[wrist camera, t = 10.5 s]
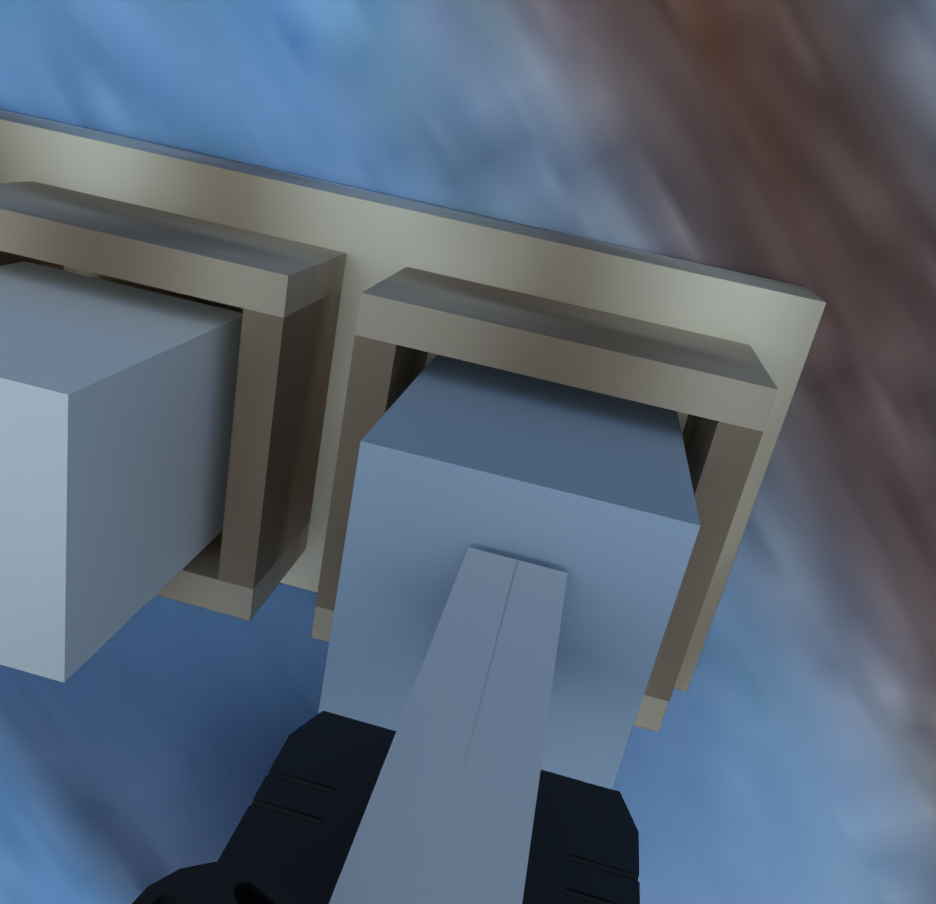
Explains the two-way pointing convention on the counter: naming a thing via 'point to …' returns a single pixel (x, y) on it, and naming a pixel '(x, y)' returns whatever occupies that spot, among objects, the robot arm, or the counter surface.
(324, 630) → the beige slotted block
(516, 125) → the counter surface
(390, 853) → the robot arm
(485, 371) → the slate key
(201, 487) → the ivory key
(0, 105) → the counter surface
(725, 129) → the counter surface
